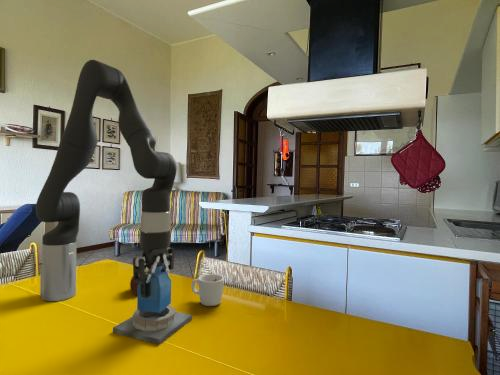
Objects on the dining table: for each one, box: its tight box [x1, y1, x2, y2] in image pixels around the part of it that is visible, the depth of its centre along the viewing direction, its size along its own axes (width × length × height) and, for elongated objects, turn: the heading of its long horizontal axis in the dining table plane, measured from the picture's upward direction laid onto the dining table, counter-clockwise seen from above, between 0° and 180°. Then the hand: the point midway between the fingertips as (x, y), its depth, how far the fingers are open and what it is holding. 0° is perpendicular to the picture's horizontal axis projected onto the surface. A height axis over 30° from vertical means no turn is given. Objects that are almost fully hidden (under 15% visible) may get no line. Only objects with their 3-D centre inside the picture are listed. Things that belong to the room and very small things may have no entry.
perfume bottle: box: [136, 260, 172, 313], centre depth 81 cm, size 6×6×12 cm
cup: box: [191, 273, 225, 307], centre depth 97 cm, size 11×8×8 cm
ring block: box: [112, 304, 193, 345], centre depth 81 cm, size 14×14×4 cm
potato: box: [129, 273, 140, 295], centre depth 105 cm, size 7×9×6 cm
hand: (154, 291), depth 81 cm, fingers closed on perfume bottle, 6 cm apart
